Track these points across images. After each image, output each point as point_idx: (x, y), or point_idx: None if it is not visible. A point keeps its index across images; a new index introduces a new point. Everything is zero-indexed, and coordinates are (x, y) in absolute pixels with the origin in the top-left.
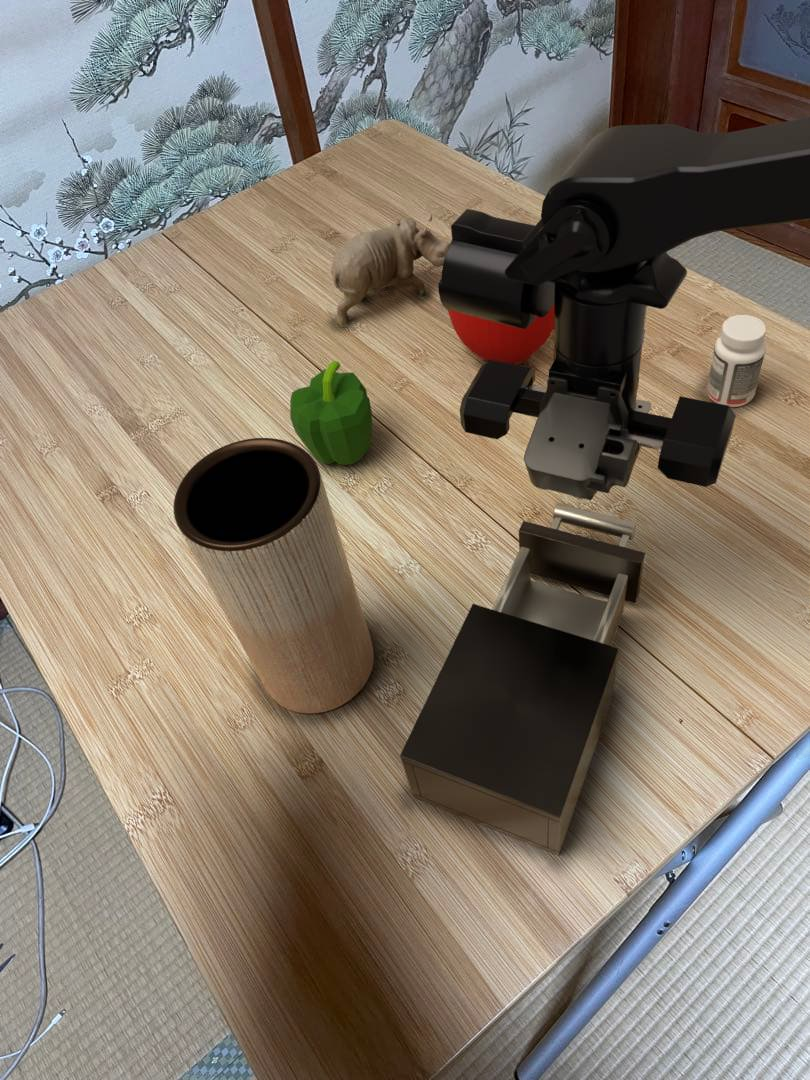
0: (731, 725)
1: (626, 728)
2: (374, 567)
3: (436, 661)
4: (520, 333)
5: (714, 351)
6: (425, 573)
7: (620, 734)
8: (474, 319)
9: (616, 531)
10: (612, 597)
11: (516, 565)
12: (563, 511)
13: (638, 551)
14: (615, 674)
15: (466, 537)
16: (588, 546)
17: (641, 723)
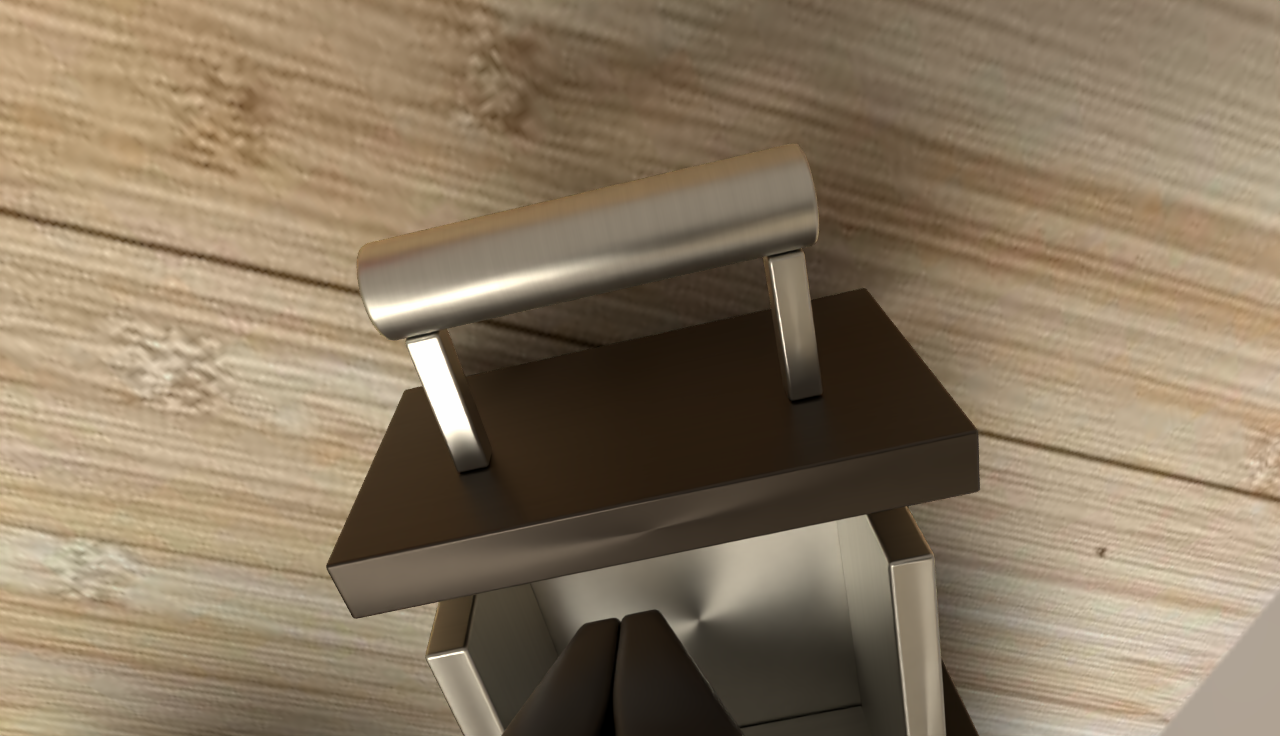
0: (1238, 497)
1: (971, 630)
2: (7, 620)
3: (433, 728)
4: None
5: None
6: (156, 558)
7: (962, 648)
8: None
9: (732, 263)
10: (911, 660)
11: (477, 727)
12: (425, 319)
13: (943, 443)
14: (962, 701)
15: (125, 372)
16: (700, 532)
17: (1004, 603)
